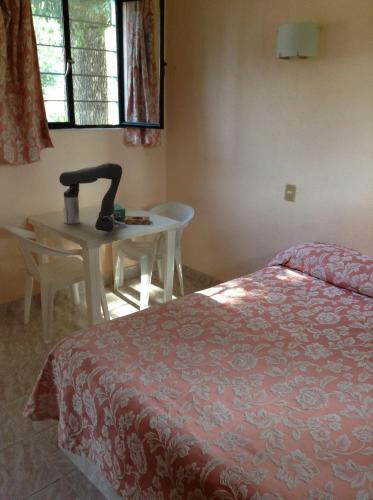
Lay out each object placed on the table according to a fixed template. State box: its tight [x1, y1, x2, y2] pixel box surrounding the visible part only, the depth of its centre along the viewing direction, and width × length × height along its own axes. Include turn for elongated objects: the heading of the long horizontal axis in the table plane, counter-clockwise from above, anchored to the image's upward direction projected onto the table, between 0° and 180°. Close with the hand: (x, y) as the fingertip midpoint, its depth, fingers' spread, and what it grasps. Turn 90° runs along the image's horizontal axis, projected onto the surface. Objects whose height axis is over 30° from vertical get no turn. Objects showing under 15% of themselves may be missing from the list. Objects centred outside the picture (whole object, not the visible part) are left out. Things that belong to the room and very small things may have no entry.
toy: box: [114, 203, 127, 220], centre depth 303 cm, size 12×10×30 cm
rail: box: [124, 215, 151, 225], centre depth 289 cm, size 16×10×3 cm, turn 93°
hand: (111, 212), depth 284 cm, fingers open, 8 cm apart
